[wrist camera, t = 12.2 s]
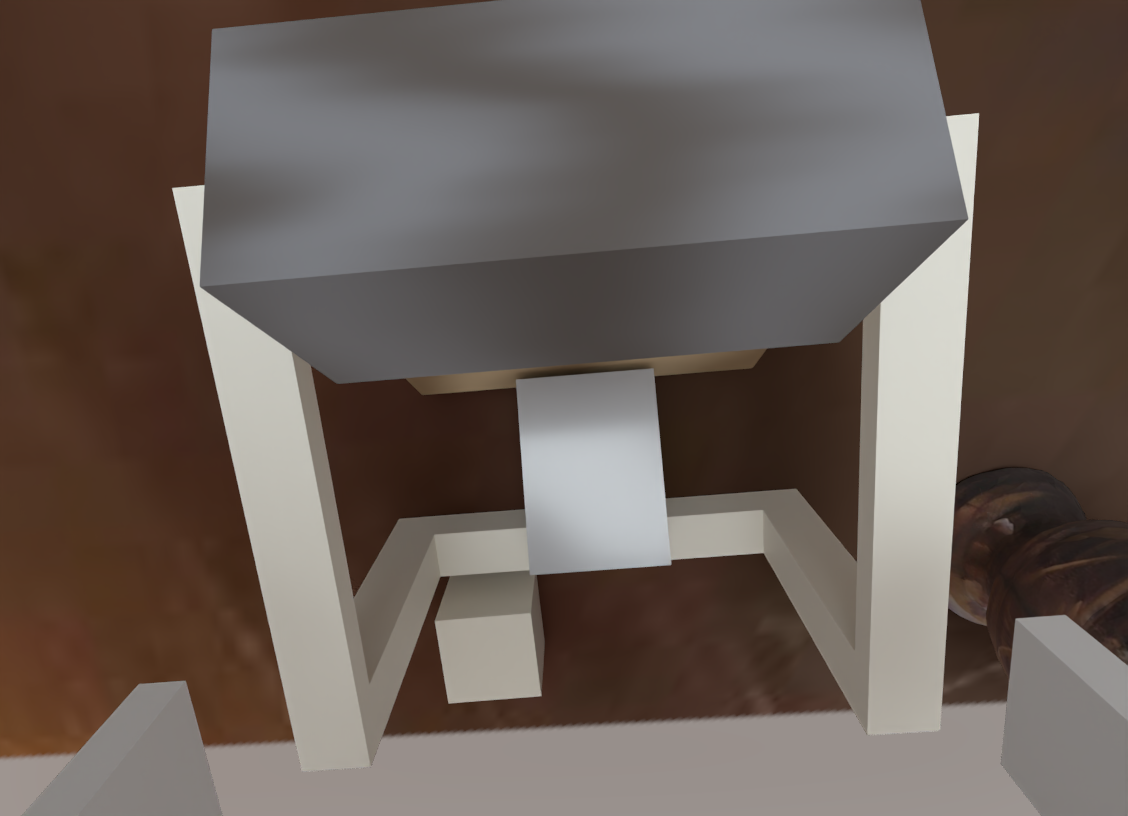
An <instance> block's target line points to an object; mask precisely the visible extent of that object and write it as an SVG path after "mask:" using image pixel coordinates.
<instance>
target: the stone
mask: <svg viewBox="0 0 1128 816" xmlns="http://www.w3.org/2000/svg"><path fill="white" fill-rule="evenodd" d="M516 388H517V402H518V416H519V430H520V444H521V458H522V472H523V486H524V500H525V514H526V528H527V543H528V557H529V571H530V575H540V574H554V573H567V572H581V571H595V570H609V569H622V568H636V567H650V566H663V565H671V555H670V544H669V533H668V522H667V511H666V500H665V489H664V478H663V467H662V456H661V445H660V433H659V422H658V411H657V400H656V389H655V378H654V368H651V369H639V370H627V371H615V372H602V373H590V374H578V375H566V376H554V377H542V378H529V379H517V380H516Z"/></svg>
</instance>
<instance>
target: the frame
mask: <svg viewBox="0 0 1128 816" xmlns="http://www.w3.org/2000/svg"><path fill="white" fill-rule="evenodd" d="M946 119H947V123H948V128H949V132H950V137H951V141H952V146H953V150H954V155H955V160H956V164H957V169H958V173H959V178H960V182H961V187H962V191H963V196H964V200H965V205H966V209H967V214H968V220H967V221H966V222H965V223H964V224H963V225H962V226H961V227H960V228H959V229H958V230H957V231H956V232H955V233H954V234H952V235H951V236H950V237H949V238H948V239H947V240H946V241H945V242H944V243H943V244H942V245H941V246H940V247H939V248H938V249H937V250H936V251H935V252H934V253H933V254H931V255H930V256H929V257H928V258H927V259H926V260H925V261H924V262H923V263H922V264H921V265H920V266H919V267H918V268H917V269H916V270H915V271H914V272H913V273H911V274H910V275H909V276H908V277H907V278H906V279H905V280H904V281H903V282H902V283H901V284H900V285H899V286H898V287H897V288H896V289H895V290H894V291H893V292H892V293H890V294H889V295H888V296H887V297H886V298H885V299H884V300H883V301H882V302H881V303H880V304H879V305H878V306H877V307H876V308H875V309H874V310H873V311H872V312H871V313H869V314H868V315H867V316H866V317H865V318H864V319H863V346H862V386H861V426H860V466H859V507H858V547H857V562H856V561H855V560H854V558H853V557H852V556H851V555H850V553H849V552H848V551H847V550H846V549H845V547H844V546H843V545H842V544H841V542H840V541H839V540H838V539H837V538H836V536H835V535H834V534H833V533H832V532H831V530H830V529H829V528H828V527H827V525H826V524H825V523H824V522H823V521H822V519H821V518H820V517H819V516H818V515H817V513H816V512H815V511H814V510H813V508H812V507H811V506H810V505H809V504H808V502H807V501H806V500H805V499H804V497H803V496H802V495H801V494H800V493H799V491H798V490H797V489H784V490H771V491H758V492H745V493H732V494H718V495H705V496H692V497H679V498H666V499H665V500H666V511H667V522H668V533H669V544H670V555H671V560H675V559H688V558H702V557H716V556H729V555H743V554H757V553H764V555H765V556H766V558H767V560H768V562H769V563H770V565H771V567H772V569H773V570H774V572H775V574H776V576H777V578H778V579H779V581H780V583H781V585H782V586H783V588H784V590H785V592H786V593H787V595H788V597H789V599H790V600H791V602H792V604H793V606H794V607H795V609H796V611H797V613H798V614H799V616H800V618H801V620H802V621H803V623H804V625H805V627H806V629H807V630H808V632H809V634H810V636H811V637H812V639H813V641H814V643H815V644H816V646H817V648H818V650H819V651H820V653H821V655H822V657H823V658H824V660H825V662H826V664H827V665H828V667H829V669H830V671H831V673H832V674H833V676H834V678H835V680H836V681H837V683H838V685H839V687H840V688H841V690H842V692H843V694H844V695H845V697H846V699H847V701H848V702H849V704H850V706H851V708H852V709H853V711H854V713H855V715H856V717H857V718H858V720H859V722H860V724H861V725H862V727H863V729H864V731H865V732H866V734H867V735H881V734H898V733H912V732H929V731H940V725H941V709H942V693H943V677H944V661H945V646H946V630H947V614H948V598H949V582H950V567H951V551H952V535H953V519H954V503H955V488H956V472H957V456H958V440H959V424H960V409H961V393H962V377H963V361H964V345H965V330H966V314H967V298H968V282H969V266H970V251H971V235H972V219H973V203H974V187H975V172H976V156H977V140H978V124H979V113H977V114H966V115H956V116H946ZM204 186H205V185H201V186H191V187H180V188H172V190H173V194H174V199H175V203H176V208H177V212H178V217H179V221H180V226H181V230H182V235H183V239H184V244H185V248H186V253H187V257H188V262H189V266H190V271H191V275H192V280H193V284H194V289H195V293H196V298H197V302H198V307H199V311H200V316H201V320H202V325H203V329H204V334H205V338H206V343H207V347H208V352H209V356H210V361H211V365H212V370H213V374H214V379H215V383H216V388H217V392H218V397H219V401H220V406H221V410H222V415H223V419H224V424H225V428H226V433H227V437H228V442H229V446H230V451H231V455H232V460H233V464H234V469H235V473H236V478H237V482H238V487H239V491H240V496H241V500H242V505H243V509H244V514H245V518H246V523H247V527H248V532H249V536H250V541H251V545H252V550H253V554H254V559H255V563H256V568H257V572H258V577H259V581H260V586H261V590H262V595H263V599H264V604H265V608H266V613H267V617H268V622H269V626H270V631H271V635H272V640H273V644H274V649H275V653H276V658H277V662H278V667H279V671H280V676H281V680H282V685H283V689H284V694H285V698H286V703H287V707H288V712H289V716H290V721H291V725H292V730H293V734H294V739H295V743H296V748H297V752H298V757H299V761H300V766H301V770H302V772H307V771H322V770H338V769H351V768H352V769H353V768H368V767H371V766H372V763H373V760H374V757H375V755H376V752H377V749H378V746H379V744H380V741H381V738H382V735H383V733H384V730H385V727H386V724H387V722H388V719H389V716H390V714H391V711H392V708H393V705H394V703H395V700H396V697H397V694H398V692H399V689H400V686H401V683H402V681H403V678H404V675H405V672H406V670H407V667H408V664H409V661H410V659H411V656H412V653H413V650H414V648H415V645H416V642H417V639H418V637H419V634H420V631H421V628H422V626H423V623H424V620H425V618H426V615H427V612H428V609H429V607H430V604H431V601H432V598H433V596H434V593H435V590H436V587H437V585H438V582H439V579H440V577H442V576H456V575H470V574H483V573H497V572H511V571H524V570H529V557H528V543H527V528H526V514H525V509H521V510H508V511H495V512H482V513H469V514H456V515H442V516H429V517H416V518H403V519H399V520H398V522H397V523H396V525H395V527H394V529H393V530H392V532H391V534H390V536H389V537H388V539H387V541H386V543H385V544H384V546H383V548H382V550H381V551H380V553H379V555H378V557H377V558H376V560H375V562H374V564H373V565H372V567H371V569H370V571H369V572H368V574H367V576H366V578H365V579H364V581H363V583H362V585H361V586H360V588H359V590H358V592H357V593H356V595H355V597H354V598H353V593H352V587H351V582H350V576H349V571H348V566H347V560H346V555H345V549H344V544H343V538H342V533H341V528H340V522H339V517H338V511H337V506H336V501H335V495H334V490H333V484H332V479H331V473H330V468H329V463H328V457H327V452H326V446H325V441H324V436H323V430H322V425H321V419H320V414H319V408H318V403H317V398H316V392H315V387H314V381H313V376H312V370H311V365H310V364H308V363H307V362H306V361H304V360H303V359H301V358H300V357H298V356H297V355H296V354H294V353H293V352H291V351H290V350H288V349H287V348H286V347H284V346H283V345H281V344H280V343H279V342H277V341H276V340H274V339H273V338H271V337H270V336H269V335H267V334H266V333H264V332H263V331H262V330H260V329H259V328H257V327H256V326H254V325H253V324H252V323H250V322H249V321H247V320H246V319H244V318H243V317H242V316H240V315H239V314H237V313H236V312H235V311H233V310H232V309H230V308H229V307H227V306H226V305H225V304H223V303H222V302H220V301H219V300H218V299H216V298H215V297H213V296H212V295H210V294H209V293H208V292H206V291H205V290H203V289H202V288H201V287H200V267H201V247H202V226H203V206H204Z"/></svg>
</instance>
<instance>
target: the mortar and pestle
mask: <svg viewBox="0 0 1128 816" xmlns="http://www.w3.org/2000/svg"><path fill="white" fill-rule="evenodd" d="M948 608H949V609H950V610H952V611H953V612H955V613H956V614H958V615H959V616H961V617H963V618H965V619H967V620H969V621H972V622H974V623H977V624H981V625H985V626H987V628H988V631H989V634H990V637H991V640H992V643H993V646H994V649H995V652H996V655H997V658H998V660H999V662H1000V664H1001V666H1002V668H1003V670H1004V672H1005V674H1006V675H1007V677H1008V679H1009V677H1010V668H1011V658H1012V648H1013V638H1014V628H1015V619H1017V618H1030V617H1043V616H1057V615H1066V616H1067V617H1069V618H1070V619H1071V620H1072V621H1074V622H1075V623H1076V624H1077V625H1078V626H1080V627H1081V628H1082V629H1083V630H1085V631H1086V632H1087V633H1088V634H1090V635H1091V636H1092V637H1093V638H1094V639H1096V640H1097V641H1098V642H1099V643H1101V644H1102V645H1103V646H1104V647H1105V648H1107V649H1108V650H1109V651H1110V652H1112V653H1113V654H1114V655H1115V656H1117V657H1118V658H1119V659H1120V660H1121V661H1123V662H1124V663H1125V664H1126V665H1128V523H1127V522H1120V521H1113V520H1086V516H1085V513H1084V512H1083V511H1082V509H1081V507H1080V505H1079V503H1078V501H1077V499H1076V497H1075V496H1074V495H1073V493H1072V492H1071V491H1070V489H1069V488H1068V487H1066V486H1065V484H1064V483H1063V482H1061V481H1059V480H1057V479H1056V478H1054V477H1053V476H1052V475H1050V474H1049V473H1047V472H1044V471H1042V470H1034V469H1030V468H1005V469H1000V470H995V471H990V472H986V473H981V474H978V475H975V476H972V477H970V478H968V479H966V480H964V481H961V482H960V483H959V484H958V485H957V486H956V488H955V503H954V519H953V535H952V551H951V567H950V582H949V598H948Z"/></svg>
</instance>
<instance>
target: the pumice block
mask: <svg viewBox="0 0 1128 816" xmlns="http://www.w3.org/2000/svg"><path fill="white" fill-rule="evenodd" d="M435 626H436V632H437V637H438V643H439V649H440V655H441V661H442V667H443V673H444V679H445V685H446V691H447V697H448V703H461V702H474V701H486V700H499V699H512V698H524V697H537V696H541V693H542V678H543V663H544V648H545V640H544V632H543V624H542V615H541V607H540V599H539V591H538V583H537V575H530V571H529V570H524V571H511V572H497V573H483V574H470V575H456V576H450V578H449V581H448V584H447V587H446V590H445V593H444V596H443V598H442V601H441V604H440V607H439V610H438V613H437V616H436V619H435Z"/></svg>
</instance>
